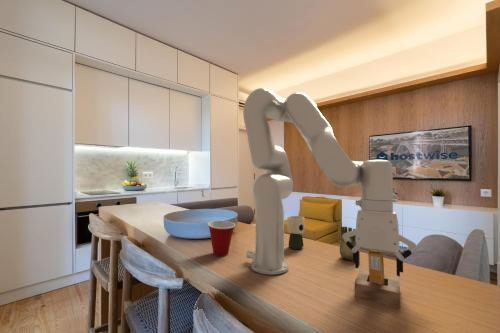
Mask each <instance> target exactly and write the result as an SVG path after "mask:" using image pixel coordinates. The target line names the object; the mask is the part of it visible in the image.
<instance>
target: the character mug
mask: <svg viewBox="0 0 500 333" xmlns="http://www.w3.org/2000/svg"><path fill="white" fill-rule="evenodd" d="M305 222H306V221H305V217H304V216H300V215H289V216H287V232H288V233H290V234H289V238H288V247H289V248H292V249H294V250H300V249H301V250H302V249H304V239H303V235H302V234H304V233H305Z"/></svg>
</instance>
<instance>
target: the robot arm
mask: <svg viewBox="0 0 500 333" xmlns="http://www.w3.org/2000/svg"><path fill="white" fill-rule="evenodd" d="M317 105H318V104H316V102H315V101H314V100H313V99H312V98H311V97H310V96H308V95H307V94H306V93H304V92H301V91H300V92H299V91H298V92H293V93H291V94H290V95H289V96H287V98H285V97H284V98H283V97H282V96H280V95H278V94H277V93H276V92H274V91H272V90H270V89H268V88H265V87H264V88H263V87H259V88H256V89H254V90H253V91H251V92H250V94H249V95H248V96H247V98H246V100H245V102H244V105H243V111H242V112H243V113H242V116H243V121H244V126H245V130H246V134H247V142H248V146H249V147H248V148H249V151H250V156H251V157H250V158H251V163H252V164H253V166H254V167H255V168H257V170H261V171H266V173H263V174H261V175H259V176H258V177H257V178H256V179H255V181H254V183H253V189H252V190H253V198H254V205H255V250H252V249H248V250H247V251H246V255H245V257H246V258H248V259H252V261H251V262H250V268H251V270H252V271H254V272H255V273H258V274H262V275H270V276H272V275H273V276H274V275H281V274H282V275H283V274H284V273H286V272H287V271H288V270H289V263H288V262H287V261H285V211H284V206H283V200H284V199H288V197H290V195H291V194H292V193H293V191H294V190H293V189H294V181H293V180H294V179H293V176H292V172H291V167H290V161H289V157H288V154H287V153H286V151H285V150H284V148H282V147H281V146H280V145H276V144H275V142H274V138H273V133H272V130H271V129H272V128H271V126H270V123H269V121H268V120H267V119H270V120H272V121H273V120H274V121H277V122H278V121H279V122H285V123H293V125H294V126H295V127H296V129H297V131H298V132H299V134H300V135H301V137H302V138H303V139H304V141H305V143H306V144H307V147H308V149H309V150H310V153H311V155H312V156H313V158H314V160H315V161H316V164H318V166H319V167H320V169H321V171H322V172H323V173H324V175H325V176H326V178H327V179H328V180H329V181H330V182H331V183H332V184H333V185H335V186H336V187H340V188H341V187H342V188H345V187H351V186H360V190H361V192H360V197H361V198H360V199H359V200H355V206H359V208H360V209H357V214H356V222H355V229H356V230H353V229H352V231H350V232H347V233H345V234H343V235H342V236H343V239H344V241H345V242H346V245H347V246H348V247H349V248H350V249H351V251H352V252H353V260H352V263H353V264H354V265H355V267H354V268H355V269H359V266H360V255H361V254H360V253H361V252H360V251H359V250H360V249H363V250H364V249H365V250H369V251H370V250H376V251H382V252H383V253H391V254H392V253H393V254H394V255H395V256H396V276H397V277H398V278H400V277H401V276H400V275H401V273H402V274H403V273H404V261H405V260H406V259H407V258H408V257H410V256H412V254H413V252H414V250H415V249H416V248H417V244H416V243H415V242H414V241H412V240H410V239H409V238H407V237H405V236H403V235H401V234H400V229H399V220H398V215H397V212H395V211H394V193H393V192H394V191H393V190H394V189H393V188H394V187H393V184H394V183H393V182H394V180H393V176H394V175H393V163H392V162H391V161H390V160H386V159H369V160H364V161H355V160H351V158H350V157H349V156H348V155H347V153H346V152H345V150H344V149H343V148H342V147H341V145H340V144H339V142H338V141H337V139H336V137H335V136H334V131H333V128H332V126H331V125H330V122H328V121H327V119H326V117H324V116H323V114H322V113H321V111H320V110H319V108H318V106H317ZM354 235H355V241H356V245H354V244H353V243H352V242H351V241H350V239H349V237H351V236H354ZM400 242H401V243H403V244H405V245H406V246H407V248H405V249H404V250H403V251H401V249H400Z"/></svg>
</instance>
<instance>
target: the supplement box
mask: <svg viewBox="0 0 500 333" xmlns="http://www.w3.org/2000/svg"><path fill="white" fill-rule="evenodd" d="M367 256H368V272H369V282H371V283H376V284H380V285H384V275H385V267H384V266H385V264H384V262H385V261H384V252H382V251H376V250H370V249H369V251H368V254H367Z"/></svg>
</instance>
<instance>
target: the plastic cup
mask: <svg viewBox="0 0 500 333" xmlns="http://www.w3.org/2000/svg"><path fill="white" fill-rule="evenodd" d="M207 226H208V228H209V233H210V243H211V247H212V254H213V255H214V256H216V257H225V256H228V255H229V253H230V246H231V241H232V236H233V231H234V228H235V227H236V223H235V222H232V221H227V220H212V221H209V222H207Z"/></svg>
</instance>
